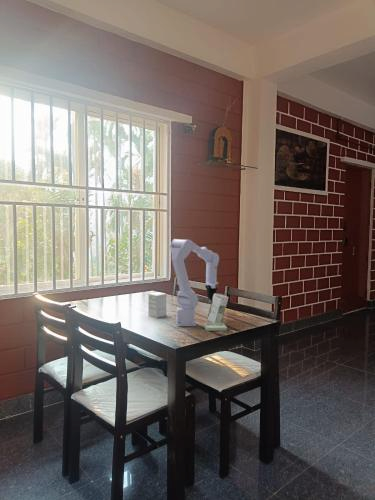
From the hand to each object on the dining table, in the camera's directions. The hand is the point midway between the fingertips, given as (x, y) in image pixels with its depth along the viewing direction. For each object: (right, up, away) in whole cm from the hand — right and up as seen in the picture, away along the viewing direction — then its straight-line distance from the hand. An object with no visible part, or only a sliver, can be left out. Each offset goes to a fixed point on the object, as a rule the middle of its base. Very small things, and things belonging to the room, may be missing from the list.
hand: (210, 299), depth 200 cm
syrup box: (+1, -11, -10) cm, 15 cm away
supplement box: (-30, -10, +3) cm, 31 cm away
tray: (+1, -12, -19) cm, 22 cm away
